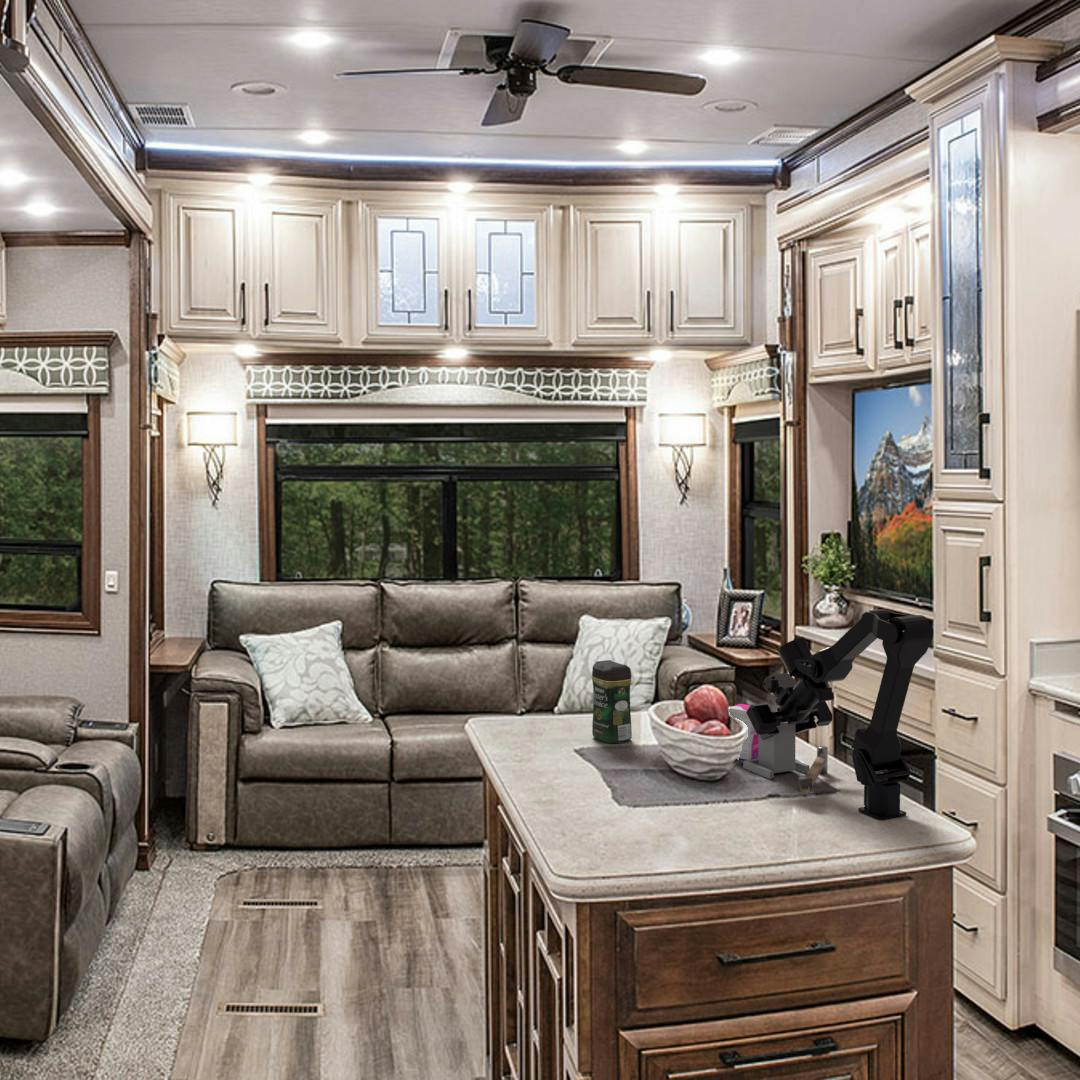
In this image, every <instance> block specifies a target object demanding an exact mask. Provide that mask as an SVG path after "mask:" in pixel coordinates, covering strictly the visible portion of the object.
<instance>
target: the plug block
mask: <svg viewBox="0 0 1080 1080" xmlns="http://www.w3.org/2000/svg"><path fill="white" fill-rule="evenodd" d="M777 728H778V730H779V732H780V733H778V734H776V735H774V736H772V737H769V738H767V739H765V740H762V739H761V737H760V735H759V758H758V759H759V765H760V766H762V767H765V768H767V769H770V770H772V771H774V774H779V773H784V772H792V771H796V770H795V760H796V735H797V734H796V724H790V725H789V724H788V722H787V723H780V726H779V727H777Z"/></svg>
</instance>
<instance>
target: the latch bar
mask: <svg viewBox="0 0 1080 1080" xmlns="http://www.w3.org/2000/svg"><path fill="white" fill-rule="evenodd" d="M825 763H826V758H825V757H817V756H816V758H815V759H814V761H813V763H812V764H811V766H809V771H808V773H806V774H805V775H801V776H799V777H798V788H799V792H803V793H810V792H811V790H812V788H813V786H814V785H815V783H816V781H817V779H818V778H819V776H820V775H821V774H820V772H821V770H822V769H823V767H824V765H825Z"/></svg>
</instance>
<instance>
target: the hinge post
mask: <svg viewBox="0 0 1080 1080" xmlns="http://www.w3.org/2000/svg"><path fill="white" fill-rule="evenodd" d="M828 751H829V749H828V746H824V745H819V746H816V757H825V758H826V763H825V765H824V767H823V769H822V770H821V772H820V774H819V775H827V774H828V770H829V769H828V768H829V767H828V762H829V761H828V759H829V757H828V756H829V755H828V753H829V752H828Z"/></svg>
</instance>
